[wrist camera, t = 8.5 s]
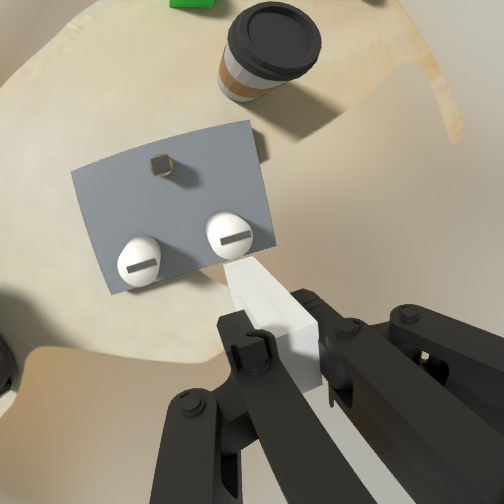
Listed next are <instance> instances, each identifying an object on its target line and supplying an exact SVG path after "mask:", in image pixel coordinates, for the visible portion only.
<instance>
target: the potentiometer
mask: <svg viewBox="0 0 504 504" xmlns="http://www.w3.org/2000/svg"><path fill="white" fill-rule="evenodd" d="M150 160H151V162H150V170H151V172H152V173H153V174H154V176H158V177H163V176H167V175H168V174H170V173H171V171H172V169H173V162H172V160H171V158H170V157H169V156H168V154H158V155H156V156H154V157H153V158H152V159H150Z"/></svg>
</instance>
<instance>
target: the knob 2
mask: <svg viewBox="0 0 504 504" xmlns="http://www.w3.org/2000/svg"><path fill="white" fill-rule="evenodd" d="M205 232H206V236H207V238H208V240H209V243H210V245H211V247H212V249H213V250H214V252H215V253H216V254H217V255H218V256H220V257H222V258H225V259H236V258H239V257H241V256H243V255H244V254H245V253H246V252H247V251H248V250H249V249H250V247H251V244H252V241H253V234H252V230H251V228H250V226H249V225H248V224H247V223H246V222H245V221H244V220H243V219H241V218H240V217H239V216H237V215H236V214H234V213H233V212H230V211H219V212H216V213H214V214H213V215H212V216H211V217H210V218H209V219H208V221H207V223H206V227H205Z"/></svg>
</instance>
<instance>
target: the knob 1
mask: <svg viewBox="0 0 504 504" xmlns="http://www.w3.org/2000/svg"><path fill="white" fill-rule="evenodd" d="M160 259H161V249H160V246H159V244H158V242H157V241H156V240H155V239H154V238H152V237H150V236H148V235H138V236H135V237H133V238H132V239H131V240H130V241H129V242H128V243H127V245H126V246H125V248H124V250H123V251H122V253H121V254H120V256H119V259H118V264H117V265H118V271H119V274H120V276H121V277H122V279H123V280H124V281H125V282H127V283H128V284H130V285H132V286H137V287H142V286H146V285H148V284H150V283H152V282H153V281H154V280H155V278H156V277H157V275H158V272H159V265H160Z"/></svg>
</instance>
